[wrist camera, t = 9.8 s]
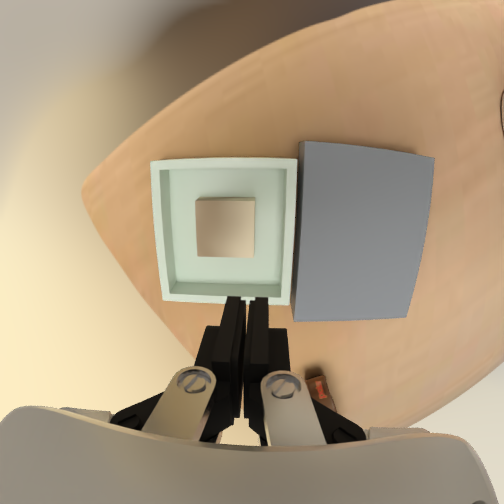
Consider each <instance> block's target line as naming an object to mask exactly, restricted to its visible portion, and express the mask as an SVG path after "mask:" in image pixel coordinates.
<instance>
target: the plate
mask: <svg viewBox="0 0 504 504" xmlns="http://www.w3.org/2000/svg"><path fill="white" fill-rule="evenodd" d="M434 159H435V158H431V157H427V156H422V155H416V154H411V153H405V152H399V151H393V150H387V149H380V148H373V147H365V146H357V145H348V144H338V143H327V142H315V141H302V142H299V167H298V194H297V216H296V234H295V251H294V265H293V279H292V292H291V308H292V314H293V320H294V322H307V321H351V320H373V319H390V318H405V317H406V316H407V312H408V309H409V306H410V302H411V298H412V295H413V291H414V287H415V283H416V279H417V275H418V271H419V266H420V262H421V257H422V252H423V247H424V242H425V236H426V230H427V224H428V218H429V211H430V203H431V195H432V185H433V174H434Z"/></svg>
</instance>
